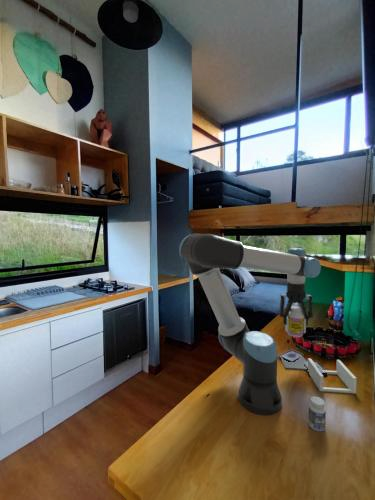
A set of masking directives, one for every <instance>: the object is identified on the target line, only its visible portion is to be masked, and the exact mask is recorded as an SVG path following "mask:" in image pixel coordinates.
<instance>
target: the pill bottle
mask: <svg viewBox="0 0 375 500" xmlns="http://www.w3.org/2000/svg"><path fill="white" fill-rule="evenodd" d="M309 401H310V402H309V403H308V417H307V418H308V426H309V427H310V428H311V429H312V430H314V431H316V432H317V431H318V432H323V431H325V430H326V418H327V417H326V415H327V414H326V413H327V410H326V407H325V406H326V404H325V401H324V399H323V398H321V397H320V396H319V397H318V396H311V397H310V399H309Z"/></svg>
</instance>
